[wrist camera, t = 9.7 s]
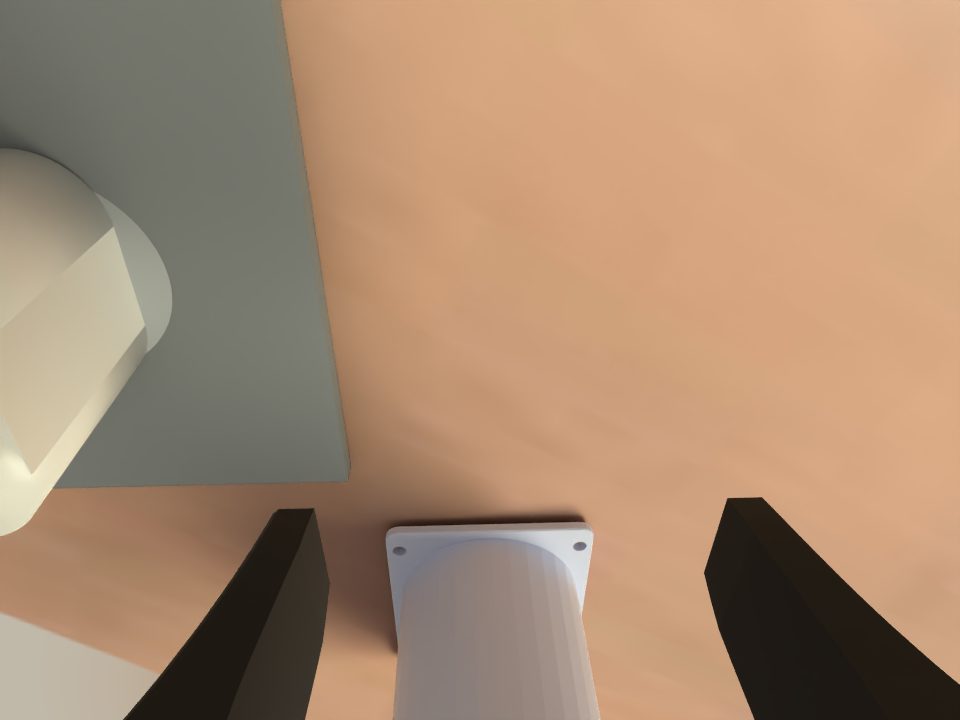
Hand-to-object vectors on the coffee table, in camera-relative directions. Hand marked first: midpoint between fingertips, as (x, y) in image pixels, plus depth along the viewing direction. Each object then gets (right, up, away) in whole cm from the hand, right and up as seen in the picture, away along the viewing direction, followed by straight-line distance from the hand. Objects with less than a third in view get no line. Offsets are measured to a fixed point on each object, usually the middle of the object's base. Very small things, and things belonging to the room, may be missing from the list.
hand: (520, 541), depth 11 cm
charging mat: (-12, +6, +7) cm, 15 cm away
